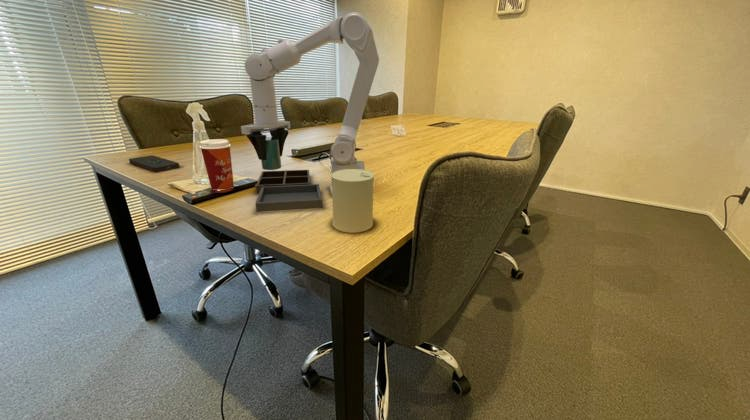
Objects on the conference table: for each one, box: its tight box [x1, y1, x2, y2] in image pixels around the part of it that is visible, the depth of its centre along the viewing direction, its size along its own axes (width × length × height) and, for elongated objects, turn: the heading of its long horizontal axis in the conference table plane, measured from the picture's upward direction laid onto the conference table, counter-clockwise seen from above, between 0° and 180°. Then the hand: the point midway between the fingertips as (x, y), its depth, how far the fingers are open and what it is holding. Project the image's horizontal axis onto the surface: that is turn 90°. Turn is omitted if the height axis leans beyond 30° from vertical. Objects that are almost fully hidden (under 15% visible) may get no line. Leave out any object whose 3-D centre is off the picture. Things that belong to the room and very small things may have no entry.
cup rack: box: [255, 169, 311, 194], centre depth 92 cm, size 15×15×2 cm
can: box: [330, 169, 375, 234], centre depth 66 cm, size 9×9×12 cm
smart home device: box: [128, 154, 181, 173], centre depth 109 cm, size 8×2×20 cm
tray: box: [255, 183, 323, 213], centre depth 79 cm, size 16×13×2 cm
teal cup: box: [260, 136, 282, 171], centre depth 84 cm, size 5×5×8 cm
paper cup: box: [198, 138, 235, 194], centre depth 84 cm, size 8×8×14 cm
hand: (270, 157), depth 84 cm, fingers closed on teal cup, 5 cm apart
